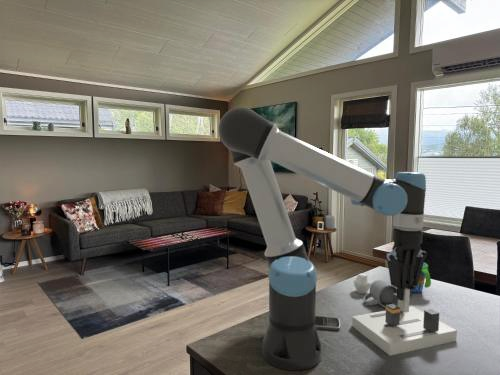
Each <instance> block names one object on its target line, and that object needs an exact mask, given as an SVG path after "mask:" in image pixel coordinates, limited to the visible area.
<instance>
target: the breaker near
mask: <svg viewBox="0 0 500 375" xmlns="http://www.w3.org/2000/svg"><path fill="white" fill-rule="evenodd" d="M423 312H424V324H423V328H424V329H426V330H428V331H429V332H431V333H432V332H436V331H438V329H439V321H440V312H438V311H436V310H434V309H432V308H429V309H424V310H423Z"/></svg>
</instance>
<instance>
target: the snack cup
mask: <svg viewBox="0 0 500 375" xmlns="http://www.w3.org/2000/svg"><path fill="white" fill-rule="evenodd" d="M431 285H432V281H431V275H430V272H429V264H427V263H426V262H424V263H423V267H422V271H421V275H420V279H419V283H418V285H417V286H413V287H415V289H414V290H412V289H411V293H420V292H422V291H423V289H424V288H430V287H431Z"/></svg>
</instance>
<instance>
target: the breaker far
mask: <svg viewBox="0 0 500 375" xmlns="http://www.w3.org/2000/svg"><path fill="white" fill-rule="evenodd" d="M392 304H394V305H396V306H398V299H397V293H394V294H393V301H392ZM400 313H402V311H401V310H400Z"/></svg>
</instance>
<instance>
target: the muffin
mask: <svg viewBox="0 0 500 375" xmlns="http://www.w3.org/2000/svg"><path fill="white" fill-rule="evenodd" d="M353 284H354V285H353V286H354V287H355V290H356V291H357V293H360V294H367V292H368V291H369V290H370V286H371V284H372V282H371V280H370V279H369V278H368V275H367V274H366V273H363V272H362V273H358V274H357V276H356V277H355V278H354V280H353Z"/></svg>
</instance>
